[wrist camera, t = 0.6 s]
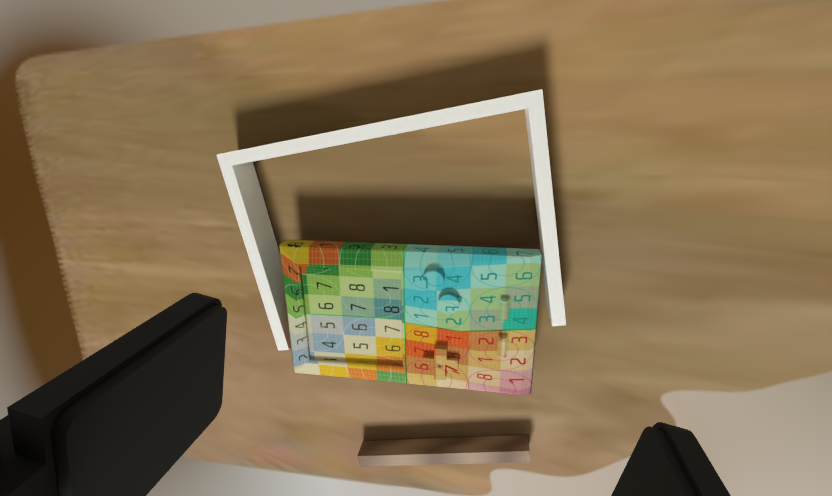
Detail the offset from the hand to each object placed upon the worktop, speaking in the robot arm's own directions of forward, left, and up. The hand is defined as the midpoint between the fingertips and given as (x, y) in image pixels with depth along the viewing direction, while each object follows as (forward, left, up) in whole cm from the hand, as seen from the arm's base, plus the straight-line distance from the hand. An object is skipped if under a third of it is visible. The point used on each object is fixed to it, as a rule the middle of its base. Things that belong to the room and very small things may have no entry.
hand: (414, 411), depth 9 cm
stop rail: (+6, +24, -26) cm, 36 cm away
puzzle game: (+6, +9, -26) cm, 28 cm away
